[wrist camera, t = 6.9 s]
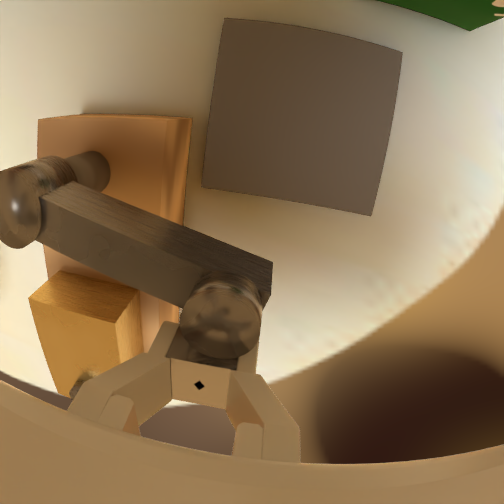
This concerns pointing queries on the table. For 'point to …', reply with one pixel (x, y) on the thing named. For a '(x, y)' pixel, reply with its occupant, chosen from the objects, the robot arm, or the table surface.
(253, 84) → the rubber mat
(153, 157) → the plane body
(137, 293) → the gold block with knob
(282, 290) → the table surface
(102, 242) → the lever
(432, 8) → the milk carton
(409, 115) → the table surface
